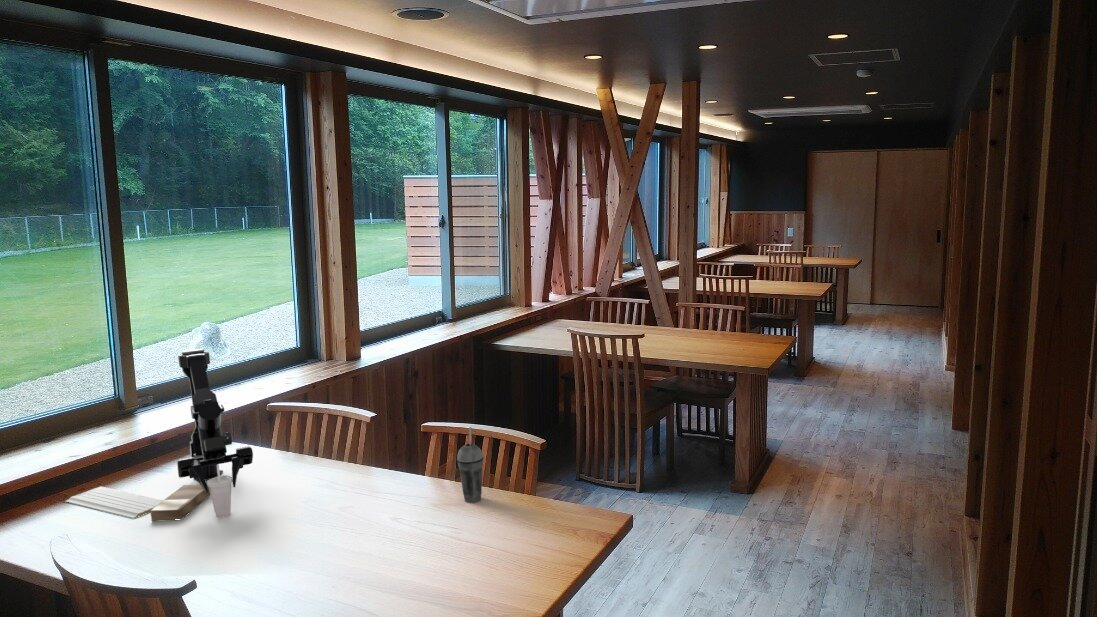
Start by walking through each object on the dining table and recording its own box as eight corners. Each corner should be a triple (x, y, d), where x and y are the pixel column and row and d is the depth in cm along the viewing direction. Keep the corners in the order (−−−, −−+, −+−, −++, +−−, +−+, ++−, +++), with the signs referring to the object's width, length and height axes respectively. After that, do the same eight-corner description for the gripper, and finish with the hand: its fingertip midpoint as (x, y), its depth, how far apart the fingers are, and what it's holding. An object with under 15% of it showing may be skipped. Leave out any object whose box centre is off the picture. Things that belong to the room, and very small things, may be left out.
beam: (184, 494, 224) (183, 484, 224) (212, 494, 224) (210, 483, 224) (150, 521, 206) (149, 510, 205) (180, 520, 206) (178, 509, 205)
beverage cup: (454, 503, 209) (449, 431, 206) (467, 493, 215) (462, 423, 212) (478, 506, 206) (474, 433, 203) (490, 495, 213) (486, 425, 210)
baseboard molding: (128, 523, 207) (168, 506, 218) (127, 512, 207) (167, 496, 217) (60, 505, 222) (101, 491, 232) (59, 496, 222) (100, 481, 232)
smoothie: (211, 521, 205) (205, 470, 203) (209, 512, 210) (203, 463, 208) (237, 515, 207) (231, 465, 205) (234, 507, 213) (229, 458, 211)
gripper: (173, 430, 204) (181, 483, 196) (248, 417, 213) (259, 467, 205) (174, 451, 212) (182, 502, 204) (246, 438, 221) (257, 487, 213)
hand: (220, 489), depth 207 cm, fingers closed on smoothie, 6 cm apart
